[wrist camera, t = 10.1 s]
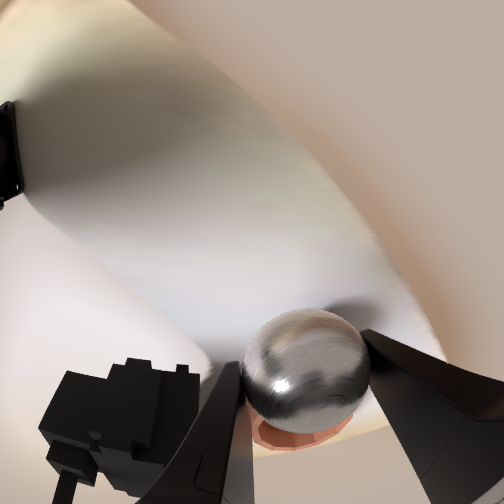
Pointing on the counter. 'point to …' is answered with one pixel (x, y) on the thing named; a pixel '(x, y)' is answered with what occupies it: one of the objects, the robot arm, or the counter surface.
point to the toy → (118, 426)
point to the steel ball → (306, 371)
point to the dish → (288, 434)
